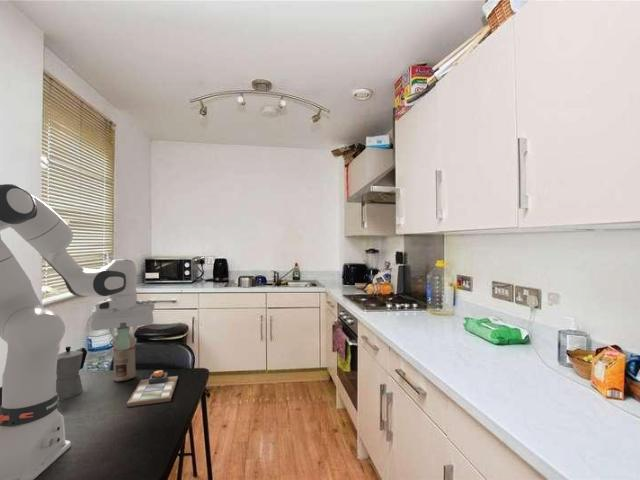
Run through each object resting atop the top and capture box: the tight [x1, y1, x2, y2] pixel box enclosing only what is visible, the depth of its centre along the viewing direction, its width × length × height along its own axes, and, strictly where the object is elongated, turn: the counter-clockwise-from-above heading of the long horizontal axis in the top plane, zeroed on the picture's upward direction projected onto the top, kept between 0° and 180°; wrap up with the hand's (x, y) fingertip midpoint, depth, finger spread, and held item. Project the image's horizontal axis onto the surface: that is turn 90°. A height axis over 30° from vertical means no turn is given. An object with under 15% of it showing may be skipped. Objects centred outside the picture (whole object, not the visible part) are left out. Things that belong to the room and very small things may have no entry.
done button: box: [152, 369, 164, 378], centre depth 136 cm, size 4×4×2 cm
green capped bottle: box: [116, 323, 131, 350], centre depth 126 cm, size 4×4×10 cm
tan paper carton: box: [112, 330, 137, 382], centre depth 143 cm, size 8×8×20 cm
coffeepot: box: [56, 346, 88, 400], centre depth 129 cm, size 15×9×18 cm, turn 174°
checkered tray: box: [126, 372, 179, 407], centre depth 129 cm, size 22×14×3 cm, turn 17°
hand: (123, 339), depth 126 cm, fingers closed on green capped bottle, 4 cm apart
